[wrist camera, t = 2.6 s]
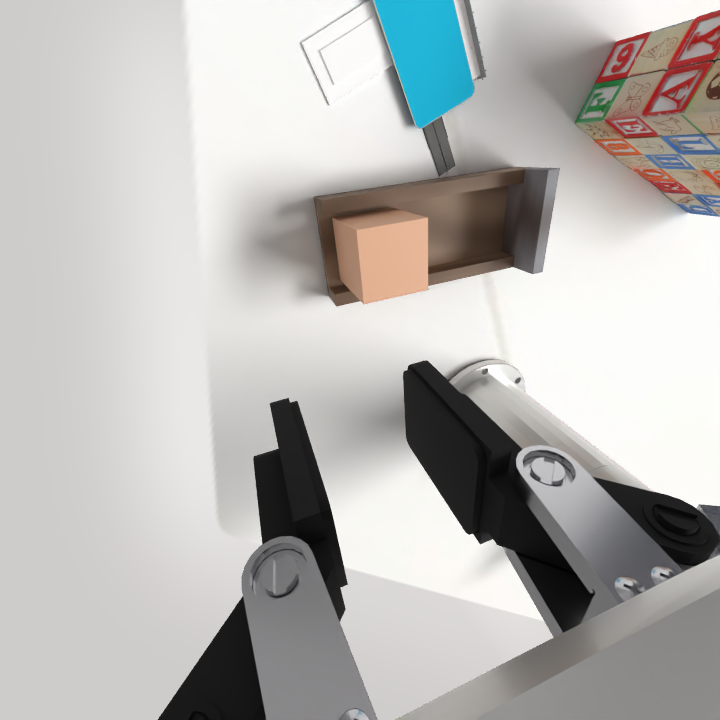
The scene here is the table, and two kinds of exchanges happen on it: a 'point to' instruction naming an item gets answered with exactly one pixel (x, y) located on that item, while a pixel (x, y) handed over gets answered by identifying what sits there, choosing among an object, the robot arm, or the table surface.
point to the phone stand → (404, 58)
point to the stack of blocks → (664, 110)
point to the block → (382, 253)
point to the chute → (457, 222)
